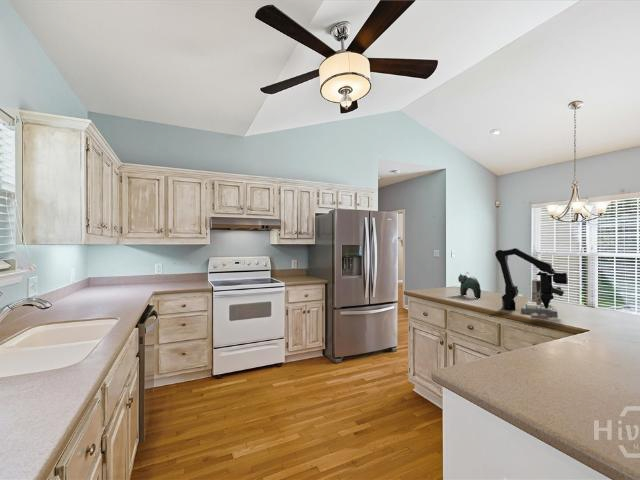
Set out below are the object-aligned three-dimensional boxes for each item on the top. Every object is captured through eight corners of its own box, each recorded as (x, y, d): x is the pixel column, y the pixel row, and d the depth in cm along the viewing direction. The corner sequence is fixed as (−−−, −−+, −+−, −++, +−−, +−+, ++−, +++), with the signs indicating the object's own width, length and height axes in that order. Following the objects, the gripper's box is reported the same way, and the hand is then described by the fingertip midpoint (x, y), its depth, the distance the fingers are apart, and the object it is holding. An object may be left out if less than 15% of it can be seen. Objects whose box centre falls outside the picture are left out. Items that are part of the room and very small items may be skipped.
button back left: (526, 306, 194) (526, 302, 194) (526, 305, 198) (526, 301, 198) (536, 307, 191) (536, 303, 191) (536, 305, 195) (536, 302, 195)
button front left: (526, 308, 188) (526, 304, 188) (526, 307, 192) (526, 303, 192) (536, 309, 185) (536, 305, 185) (536, 308, 189) (536, 304, 189)
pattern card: (531, 317, 177) (531, 314, 177) (531, 314, 184) (531, 312, 184) (548, 318, 173) (548, 316, 173) (547, 316, 179) (547, 313, 179)
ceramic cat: (457, 295, 253) (457, 271, 253) (464, 294, 255) (463, 271, 255) (476, 299, 234) (476, 273, 234) (483, 298, 236) (482, 273, 236)
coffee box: (537, 304, 214) (536, 281, 214) (531, 302, 220) (531, 280, 220) (551, 304, 213) (550, 281, 213) (545, 302, 219) (544, 280, 219)
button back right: (541, 307, 190) (541, 304, 190) (541, 306, 194) (540, 302, 194) (551, 308, 187) (551, 304, 187) (550, 307, 191) (550, 303, 191)
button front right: (541, 312, 184) (541, 308, 184) (541, 310, 188) (541, 307, 188) (552, 313, 181) (552, 309, 181) (551, 311, 185) (551, 308, 185)
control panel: (522, 313, 187) (522, 308, 187) (522, 307, 202) (522, 303, 202) (557, 316, 177) (557, 311, 177) (555, 311, 192) (555, 306, 192)
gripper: (564, 285, 172) (564, 313, 172) (561, 282, 188) (561, 307, 187) (540, 284, 179) (540, 310, 178) (539, 280, 194) (539, 305, 194)
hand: (546, 308), depth 184 cm, fingers closed, pressing on button front right
